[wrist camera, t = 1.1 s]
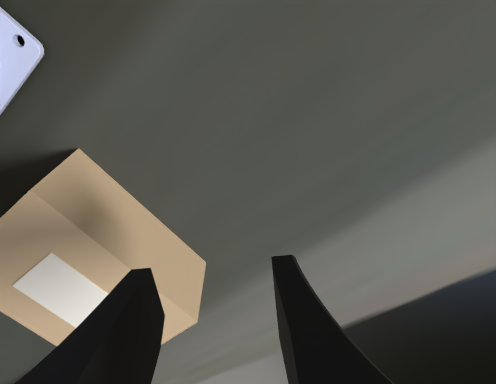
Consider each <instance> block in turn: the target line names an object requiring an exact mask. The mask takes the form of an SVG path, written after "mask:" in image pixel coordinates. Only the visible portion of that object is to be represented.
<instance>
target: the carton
mask: <svg viewBox="0 0 496 384" xmlns="http://www.w3.org/2000/svg"><path fill="white" fill-rule="evenodd" d="M205 267H206V262H205V261H204V260H203V259H202V258H200V257H199V256H198V255H197V254H196V253H195V252H194V251H193V250H192V249H190V248H189V247H188V246H187V245H186V244H185V243H184V242H183V241H182V240H180V239H179V238H178V237H177V236H176V235H175V234H174V233H173V232H171V231H170V230H169V229H168V228H167V227H166V226H165V225H164V224H163V223H161V222H160V221H159V220H158V219H157V218H156V217H155V216H154V215H153V214H151V213H150V212H149V211H148V210H147V209H146V208H145V207H144V206H142V205H141V204H140V203H139V202H138V201H137V200H136V199H135V198H134V197H132V196H131V195H130V194H129V193H128V192H127V191H126V190H125V189H124V188H122V187H121V186H120V185H119V184H118V183H117V182H116V181H115V180H113V179H112V178H111V177H110V176H109V175H108V174H107V173H106V172H105V171H103V170H102V169H101V168H100V167H99V166H98V165H97V164H96V163H94V162H93V161H92V160H91V159H90V158H89V157H88V156H87V155H86V154H84V153H83V152H82V151H81V150H80V149H79V148H78V149H77V150H76V151H75V152H74V153H73V154H71V155H70V156H69V157H68V158H67V159H65V160H64V161H63V162H62V163H61V164H60V165H58V166H57V167H56V168H55V169H54V170H53V171H51V172H50V173H49V174H48V175H47V176H46V177H44V178H43V179H42V180H41V181H40V182H39V183H37V184H36V185H35V186H34V187H33V188H32V189H30V190H29V191H28V192H27V193H26V194H25V195H24V196H23V197H22V198H21V199H20V200H19V201H18V202H17V203H16V204H15V205H14V206H13V207H12V208H10V209H9V210H8V211H7V212H6V213H5V214H4V215H3V216H2V217H1V218H0V311H1V312H3V313H4V314H6V315H8V316H9V317H11V318H12V319H14V320H16V321H17V322H19V323H20V324H22V325H24V326H25V327H27V328H28V329H30V330H32V331H33V332H35V333H36V334H38V335H40V336H41V337H43V338H44V339H46V340H48V341H49V342H51V343H52V344H54V345H56V346H58V345H59V344H60V343H61V342H62V341H63V340H64V339H65V338H66V337H67V336H68V335H69V334H70V333H71V332H72V331H73V330H74V329H75V328H77V327H78V326H79V325H80V324H81V323H82V322H83V321H84V320H85V319H86V317H87V316H88V315H89V314H90V313H91V312H92V311H93V310H94V309H95V308H96V307H97V306H98V305H99V304H100V303H101V302H102V300H103V299H104V298H105V297H106V296H107V295H108V294H109V293H110V292H111V291H112V290H113V289H114V287H115V286H116V285H117V284H118V283H119V282H120V281H121V280H122V279H123V278H124V277H125V275H126V274H127V273H128V272H129V271H130V270H131V269H141V268H151V270H152V274H153V277H154V280H155V284H156V287H157V290H158V294H159V297H160V300H161V304H162V307H163V310H164V314H165V320H164V328H163V335H162V341H161V345H162V344H163V343H165V342H166V341H168V340H170V339H171V338H173V337H174V336H176V335H178V334H179V333H181V332H182V331H184V330H186V329H187V328H189V327H190V326H192V325H194V324H195V323H197V321H198V314H199V307H200V301H201V294H202V287H203V280H204V273H205Z"/></svg>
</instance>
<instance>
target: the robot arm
mask: <svg viewBox="0 0 496 384" xmlns="http://www.w3.org/2000/svg"><path fill="white" fill-rule="evenodd" d="M18 35H20V36H22V38H23V39H24V41H25V44H24V46H22V45H20V44H19V42H18V39H17V38H18ZM43 55H44V48H43V46H42V44H41V43H40V42H39V41H38V40H37V39H36V38H35V37H34V36H33V35H32V34H30V33H29V32H28V31H27V30H26V29H25V28H24V27H22V26H21V25H20V24H19V23H18V22H17V21H16V20H14V19H13V18H12V17H11V16H10V15H9V14H8V13H6V12H5V11H4V10H3V9H2V8H1V7H0V115H1V113H2V112H3V111H4V109H5V108H6V107H7V105H8V104H9V102H10V101H11V100H12V98H13V97H14V96H15V94H16V93H17V92H18V90H19V89H20V87H21V86H22V85H23V83H24V82H25V81H26V79H27V78H28V76H29V75H30V74H31V72H32V71H33V70H34V68H35V67H36V66H37V64H38V63H39V61H40V60H41V59H42V57H43ZM272 267H273V278H274V289H275V300H276V310H277V320H278V329H279V338H280V343H281V348H282V353H283V358H284V363H285V368H286V373H287V378H288V383H289V384H394V383H393V382H392V381H391V380H389V378H388V377H386V376H385V375H384V374H383V373H382V372H381V371H380V370H379V369H378V368H377V367H376V366H375V365H374V364H373V363H372V362H371V361H370V360H369V359H368V357H367V356H366V355H365V354H364V353H363V352H362V351H361V350H360V349H359V348H358V347H357V346H356V345H355V343H354V342H353V341H352V340H351V339H350V338H349V337H348V335H347V334H346V333H345V332H344V331H343V329H342V328H341V327H340V326H339V324H338V323H337V322H336V321H335V319H334V318H333V317H332V316H331V314H330V313H329V312H328V310H327V309H326V308H325V306H324V305H323V303H322V302H321V301H320V299H319V298H318V296H317V295H316V293H315V292H314V290H313V289H312V287H311V286H310V284H309V283H308V281H307V279H306V278H305V276H304V274H303V272H302V271H301V269H300V267H299V265H298V263H297V260H296V258H295V257H294V256H293V255H285V256H274V257H272ZM164 320H165V314H164V310H163V307H162V304H161V300H160V297H159V294H158V290H157V287H156V284H155V280H154V277H153V274H152V270H151V268H141V269H131V270H130V271H129V272H128V273H127V274H126V275H125V277H124V278H123V279H122V280H121V281H120V282H119V283H118V284H117V285H116V286H115V287H114V289H113V290H112V291H111V292H110V293H109V294H108V295H107V296H106V297H105V298H104V299H103V300H102V302H101V303H100V304H99V305H98V306H97V307H96V308H95V309H94V310H93V311H92V312H91V313H90V314H89V315H88V316H87V317H86V319H85V320H84V321H83V322H82V323H81V324H80V325H79V326H78V327H77V328H75V329H74V330H73V331H72V332H71V333H70V334H69V335H68V336H67V337H66V338H65V339H64V340H63V341H62V342H61V343H60V344H59V345H58V346H57V347H56V348H55V349H54V350H53V351H52V352H51V353H50V354H49V355H48V356H46V357H45V358H44V359H43V360H42V361H41V362H40V363H39V364H37V365H36V366H35V367H34V368H33V369H32V370H30V371H29V372H28V373H27V374H26V375H25V376H23V377H22V378H21V379H20V380H19V381H17V382H16V383H15V384H151V381H152V378H153V374H154V370H155V367H156V363H157V359H158V356H159V352H160V348H161V341H162V335H163V328H164Z"/></svg>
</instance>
